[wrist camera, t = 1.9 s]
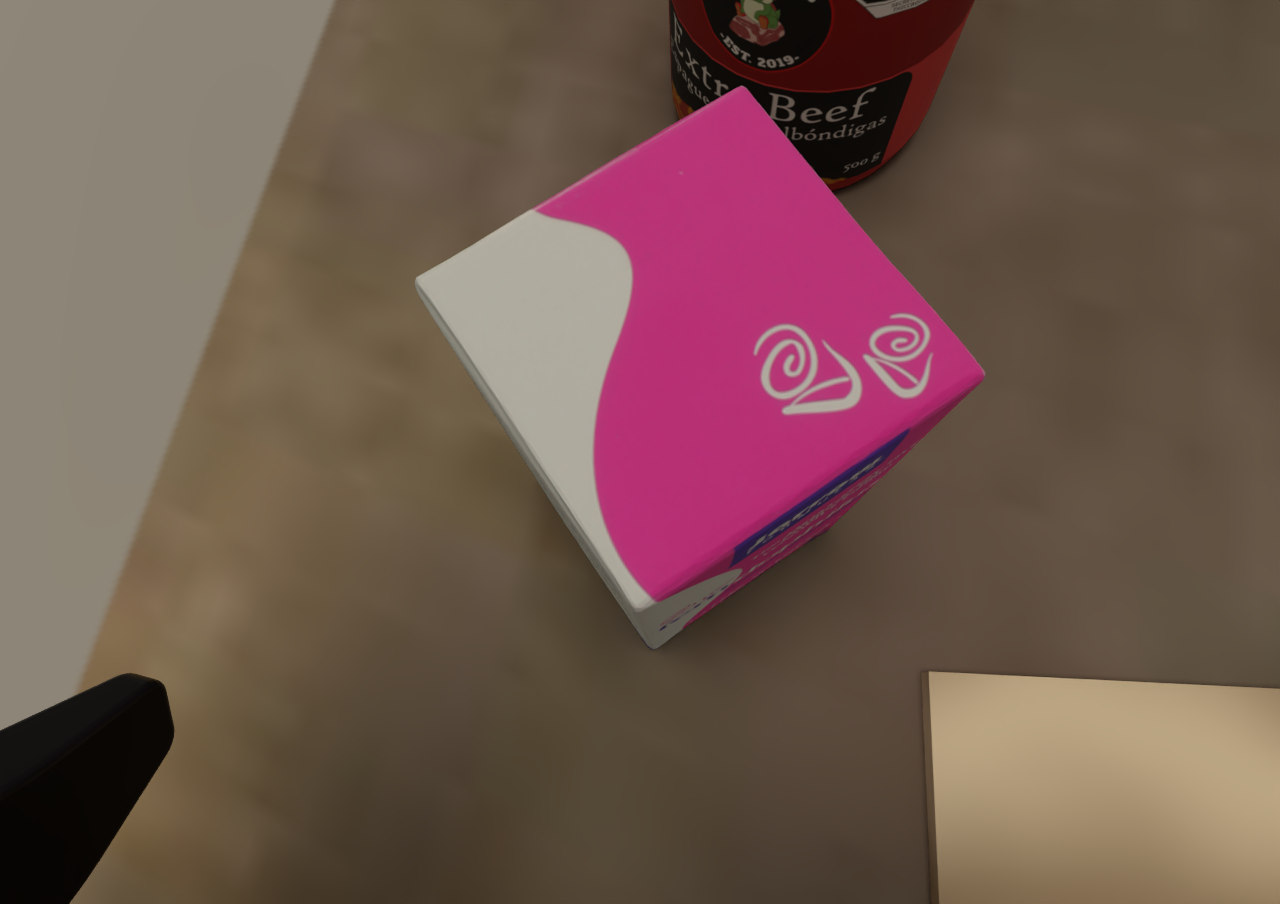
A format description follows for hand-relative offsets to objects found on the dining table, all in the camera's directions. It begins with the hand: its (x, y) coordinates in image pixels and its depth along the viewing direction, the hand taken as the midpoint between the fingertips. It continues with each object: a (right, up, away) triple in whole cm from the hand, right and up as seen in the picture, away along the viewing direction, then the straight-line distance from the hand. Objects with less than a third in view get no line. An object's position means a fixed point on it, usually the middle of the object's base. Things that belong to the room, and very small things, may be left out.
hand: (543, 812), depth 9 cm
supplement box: (+2, +2, +13) cm, 14 cm away
